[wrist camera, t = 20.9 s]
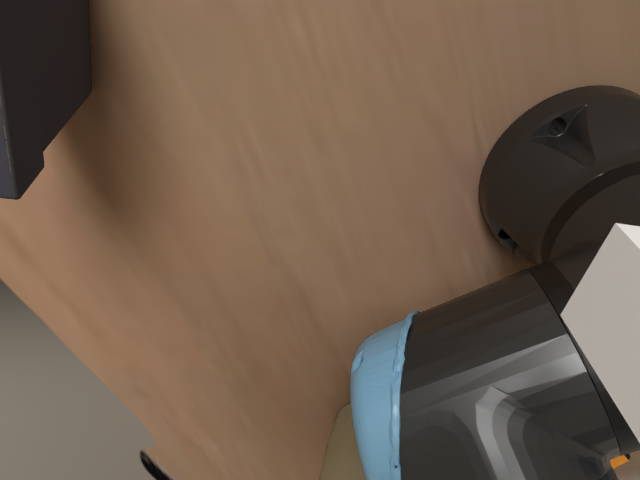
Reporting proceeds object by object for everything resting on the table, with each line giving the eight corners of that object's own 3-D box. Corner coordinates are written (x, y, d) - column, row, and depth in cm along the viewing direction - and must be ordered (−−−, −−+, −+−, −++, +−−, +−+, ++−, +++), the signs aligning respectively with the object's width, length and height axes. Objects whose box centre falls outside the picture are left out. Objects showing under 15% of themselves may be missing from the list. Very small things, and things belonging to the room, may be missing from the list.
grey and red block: (18, -101, 31) (-149, -76, 19) (95, -84, 32) (-17, -50, 20) (36, 83, 37) (-81, 191, 25) (101, 93, 38) (17, 204, 26)
